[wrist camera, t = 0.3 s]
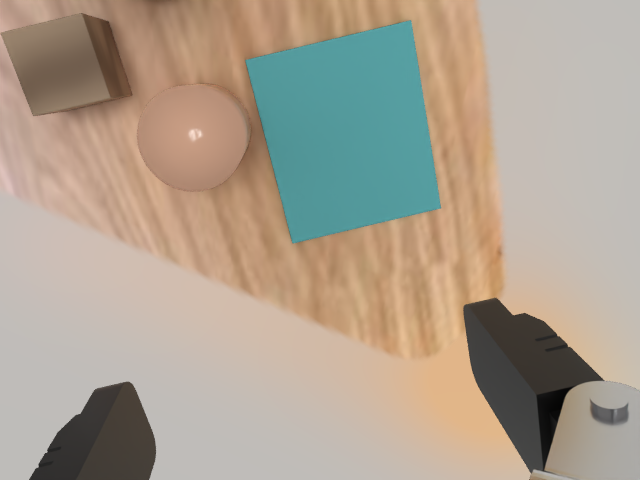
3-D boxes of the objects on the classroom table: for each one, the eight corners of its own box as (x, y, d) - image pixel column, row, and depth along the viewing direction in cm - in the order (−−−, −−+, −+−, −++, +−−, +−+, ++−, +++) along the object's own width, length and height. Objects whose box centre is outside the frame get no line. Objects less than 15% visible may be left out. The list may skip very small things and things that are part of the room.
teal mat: (245, 60, 37) (245, 60, 36) (409, 20, 37) (411, 20, 36) (292, 242, 41) (292, 243, 41) (439, 207, 41) (441, 208, 41)
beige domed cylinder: (151, 95, 37) (122, 99, 31) (237, 74, 37) (227, 73, 31) (178, 180, 39) (156, 201, 33) (260, 160, 39) (255, 178, 32)
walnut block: (38, 38, 36) (0, 32, 31) (108, 21, 36) (81, 13, 31) (65, 111, 37) (33, 116, 32) (132, 95, 37) (110, 97, 32)
